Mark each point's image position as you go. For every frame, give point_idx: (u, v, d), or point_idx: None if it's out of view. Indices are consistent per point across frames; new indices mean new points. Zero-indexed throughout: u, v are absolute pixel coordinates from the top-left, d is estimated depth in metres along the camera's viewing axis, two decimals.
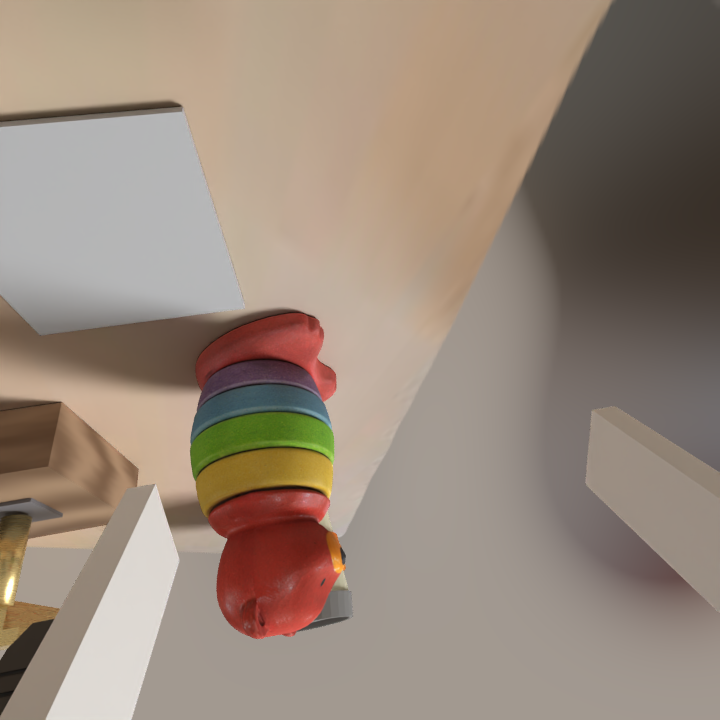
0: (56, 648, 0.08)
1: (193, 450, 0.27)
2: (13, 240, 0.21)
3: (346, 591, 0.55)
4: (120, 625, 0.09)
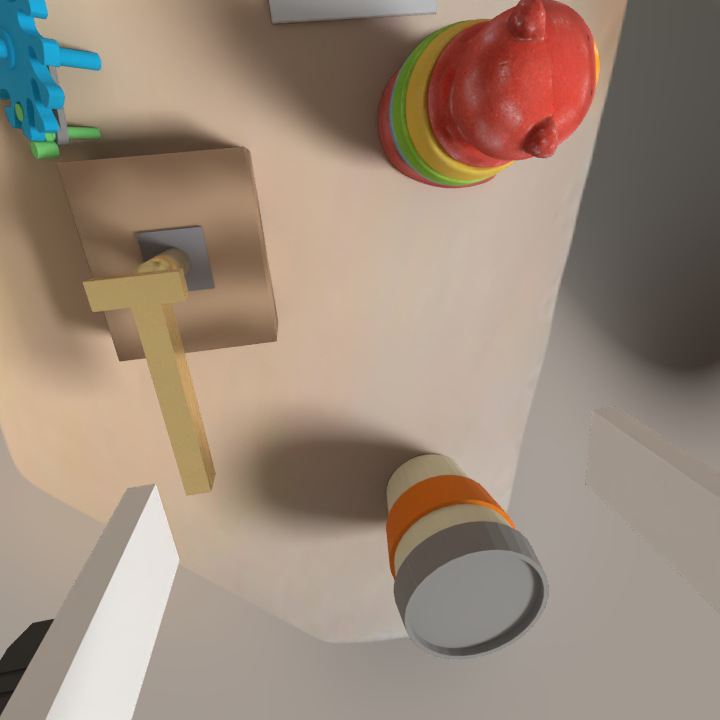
0: (56, 648, 0.08)
1: (403, 69, 0.28)
2: None
3: None
4: (120, 625, 0.09)
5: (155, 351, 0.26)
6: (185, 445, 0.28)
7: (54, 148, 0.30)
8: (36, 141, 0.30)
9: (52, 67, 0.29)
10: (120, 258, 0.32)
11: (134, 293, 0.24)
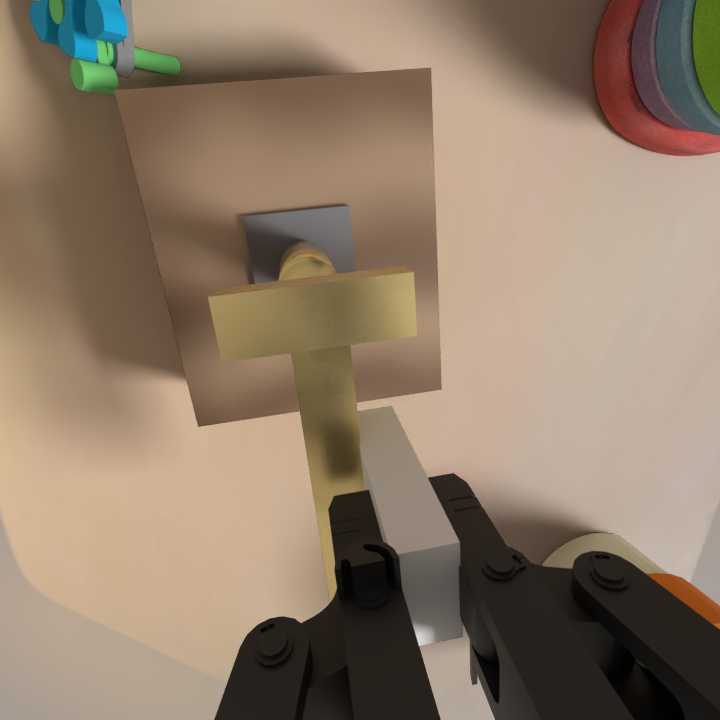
0: (389, 498, 0.11)
1: None
2: None
3: None
4: None
5: (325, 435, 0.13)
6: None
7: (111, 75, 0.18)
8: (82, 60, 0.17)
9: None
10: (211, 259, 0.19)
11: (315, 320, 0.11)
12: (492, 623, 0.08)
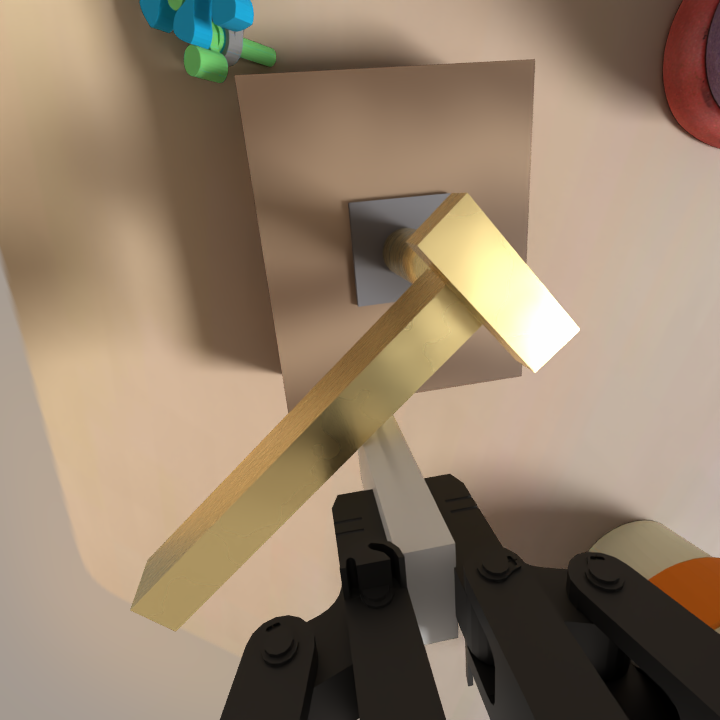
0: (393, 497, 0.11)
1: None
2: None
3: None
4: None
5: (383, 378, 0.12)
6: (234, 538, 0.13)
7: (223, 63, 0.18)
8: (198, 46, 0.17)
9: None
10: (314, 245, 0.19)
11: (500, 291, 0.11)
12: (487, 624, 0.08)
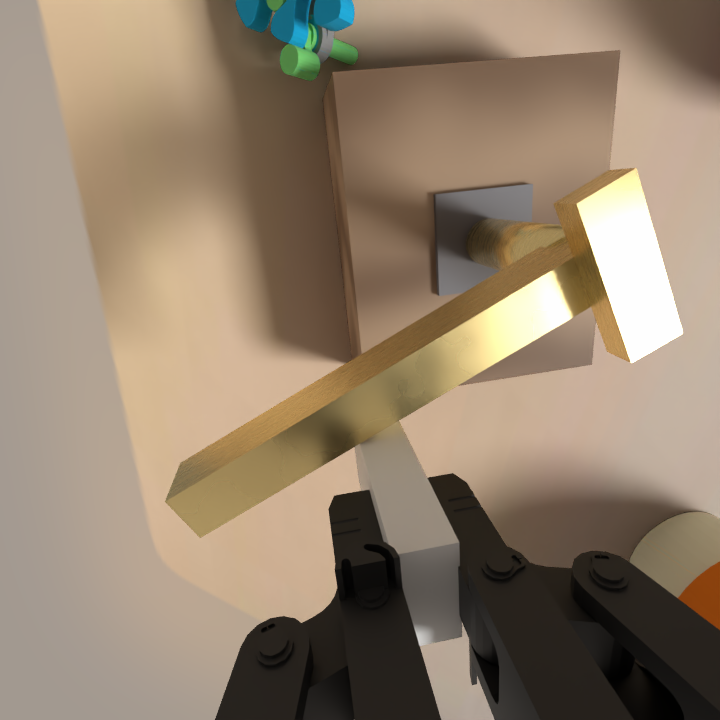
0: (390, 498, 0.11)
1: None
2: None
3: None
4: None
5: (487, 332, 0.12)
6: (293, 453, 0.13)
7: (316, 61, 0.19)
8: (295, 45, 0.18)
9: None
10: (399, 236, 0.20)
11: (630, 273, 0.11)
12: (492, 623, 0.08)
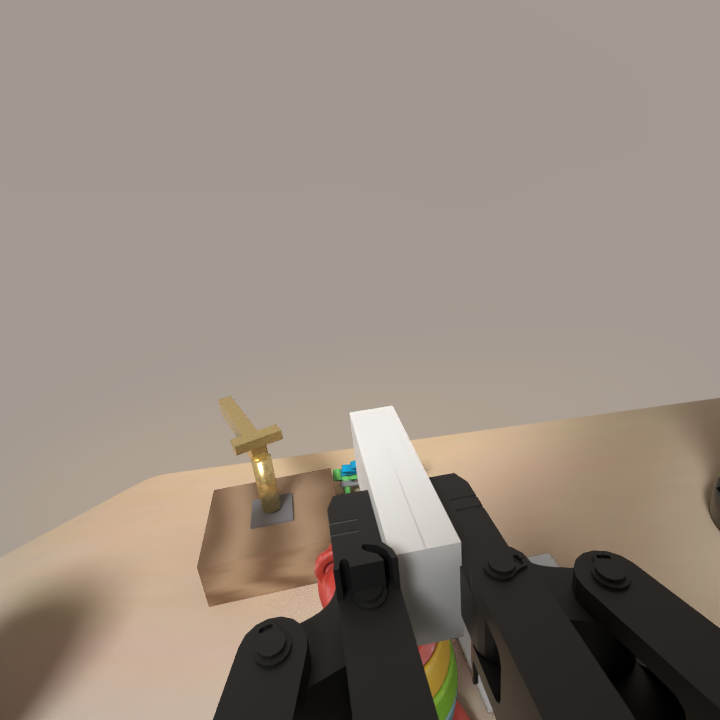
0: (388, 498, 0.11)
1: None
2: None
3: None
4: None
5: (248, 428, 0.49)
6: (232, 408, 0.54)
7: (337, 477, 0.56)
8: (340, 471, 0.57)
9: None
10: (278, 489, 0.52)
11: (256, 434, 0.45)
12: (493, 623, 0.08)
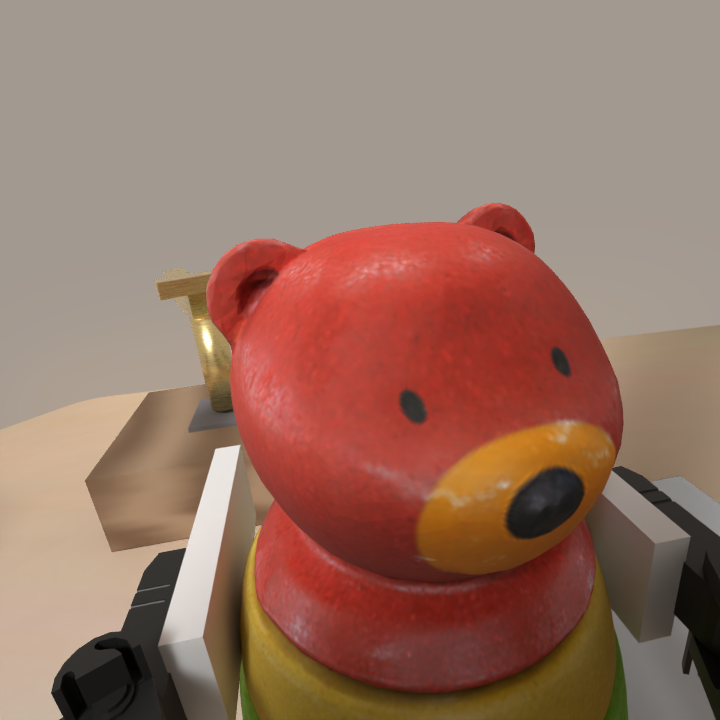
0: (197, 564, 0.09)
1: None
2: None
3: None
4: (233, 555, 0.11)
5: None
6: (178, 273, 0.36)
7: None
8: None
9: None
10: None
11: (197, 274, 0.28)
12: None
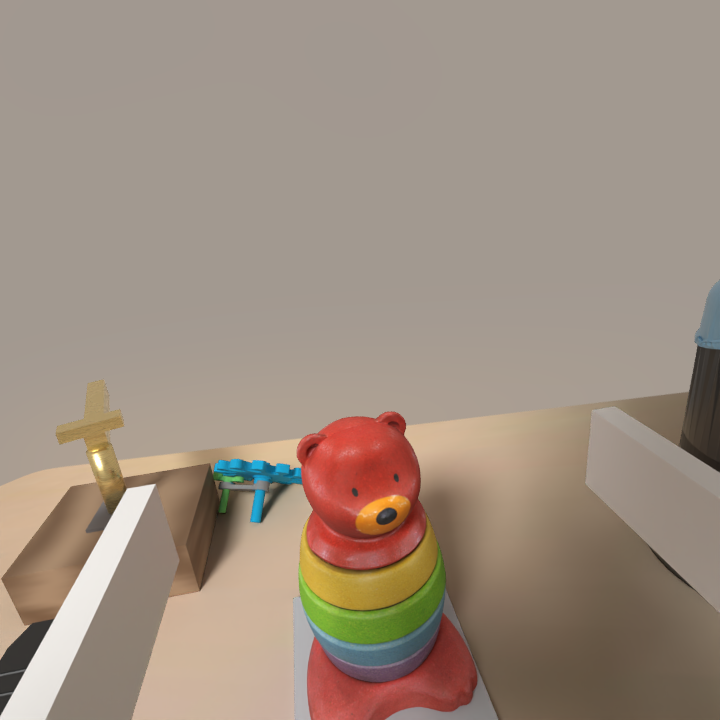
0: (56, 648, 0.08)
1: None
2: None
3: None
4: (120, 625, 0.09)
5: (96, 414, 0.41)
6: (95, 392, 0.47)
7: (215, 477, 0.48)
8: None
9: (250, 487, 0.46)
10: None
11: (89, 420, 0.38)
12: None
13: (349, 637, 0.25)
